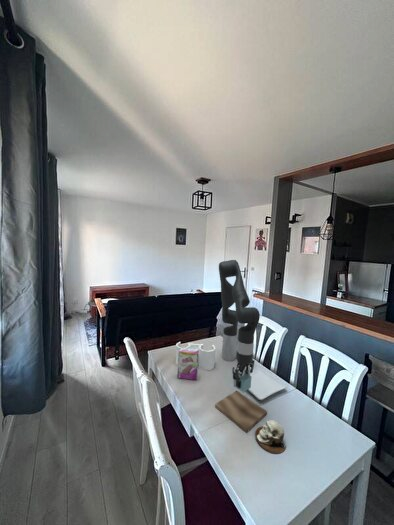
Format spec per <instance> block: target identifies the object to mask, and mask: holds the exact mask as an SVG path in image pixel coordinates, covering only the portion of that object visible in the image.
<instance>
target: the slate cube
mask: <svg viewBox="0 0 394 525" xmlns="http://www.w3.org/2000/svg"><path fill="white" fill-rule="evenodd" d="M239 372H240V371H239ZM240 373H241V372H240ZM241 374H242V373H241ZM235 377H236V376H235ZM239 377H240V375H239ZM251 377H252V376H250V375H248V374H247V373H245V372H244V376H242V379H241V388H238V387H236V380H234V379H233V387H234V388H236V390H237V389H238V390H239V392H242V393H244V392H246V391H248V389H249V388H251Z"/></svg>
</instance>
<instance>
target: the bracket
mask: <svg viewBox="0 0 394 525" xmlns="http://www.w3.org/2000/svg"><path fill="white" fill-rule="evenodd" d="M180 348H183V347H181V341H179V342H177V343H176V344H175V365H176V366H178V359H179V350H180ZM184 348H189V349H198V350H199V356H198V368H199V369H201V370H204V371H210V370H213V369H214V368H215V360H216V346H215V344H212V345H211V350H204V344H203V343H200V344H199V343H191V342H187V346H185V347H184Z"/></svg>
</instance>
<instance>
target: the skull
mask: <svg viewBox="0 0 394 525" xmlns="http://www.w3.org/2000/svg"><path fill="white" fill-rule="evenodd" d="M254 435H255V436H254V437H255V440H256V441H257V443H258V444H259V445H260V446H261V447H262V449H264V450H266V451H268V452H269V453H273V454H282V453H283V452H284V451H286V448H287V445H285V443H284V442H282V441H283V440H284V437H285V430H284V428H283V426H282V425H281V424H280V423H279V422H278V421H276V420H273V419H271V420H267V421H265V424H263V425H261V426H259V427H257V428H256V429H255V432H254Z"/></svg>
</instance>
